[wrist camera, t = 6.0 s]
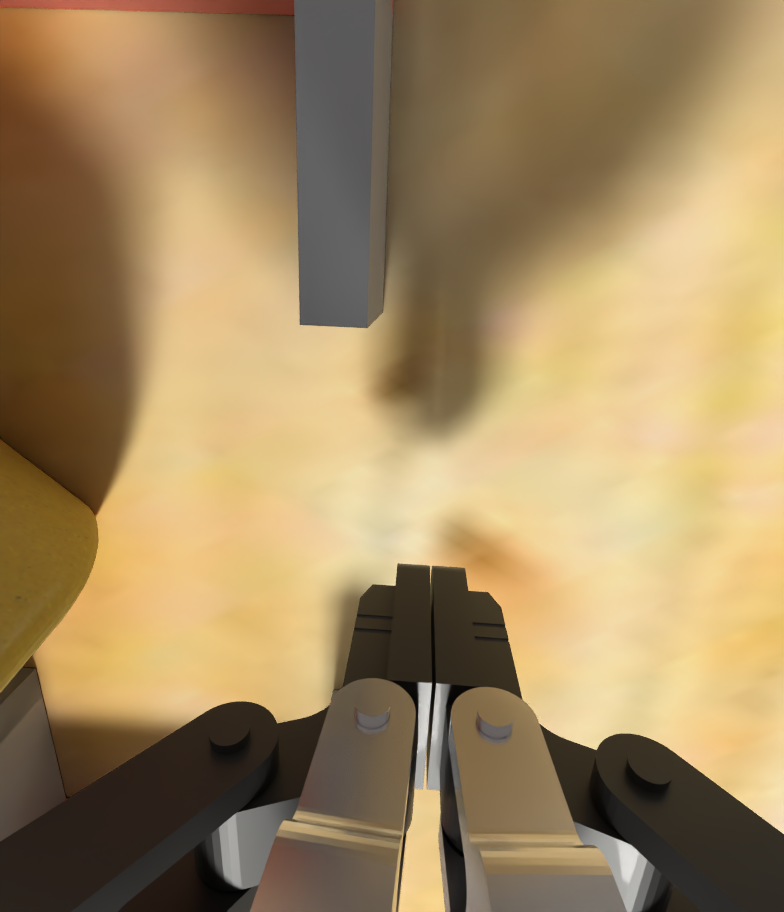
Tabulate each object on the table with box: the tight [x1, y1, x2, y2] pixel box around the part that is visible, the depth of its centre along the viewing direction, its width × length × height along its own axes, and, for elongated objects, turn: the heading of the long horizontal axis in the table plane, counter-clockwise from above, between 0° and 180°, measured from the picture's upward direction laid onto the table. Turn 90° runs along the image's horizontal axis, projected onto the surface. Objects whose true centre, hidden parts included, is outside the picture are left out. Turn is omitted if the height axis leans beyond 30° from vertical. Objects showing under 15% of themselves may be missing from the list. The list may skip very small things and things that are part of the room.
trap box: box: [0, 0, 393, 841], centre depth 13 cm, size 26×19×4 cm
